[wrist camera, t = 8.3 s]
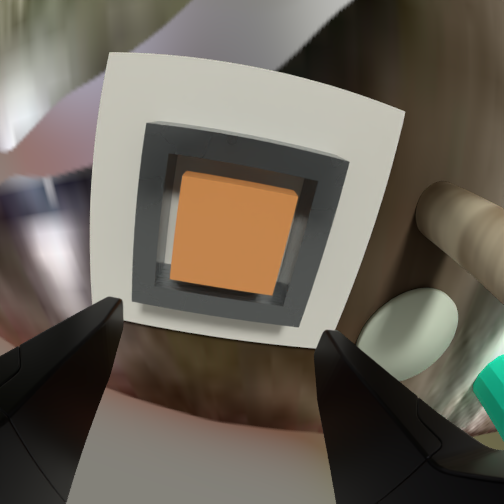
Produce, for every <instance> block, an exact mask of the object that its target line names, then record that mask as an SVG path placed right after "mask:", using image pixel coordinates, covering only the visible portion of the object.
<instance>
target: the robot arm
mask: <svg viewBox="0 0 504 504" xmlns="http://www.w3.org/2000/svg"><path fill="white" fill-rule="evenodd" d="M122 330H123V301H122V299H120V298H116V297H111V296H108V297H106V298H104V299H102V300H100V301H98V302H97V303H95V304H93V305H91V306H89V307H87V308H86V309H84V310H82V311H80V312H78V313H76V314H75V315H73V316H71V317H69V318H67V319H66V320H64V321H62V322H60V323H58V324H57V325H55V326H53V327H51V328H49V329H48V330H46V331H44V332H42V333H40V334H39V335H37V336H35V337H33V338H32V339H30V340H28V341H26V342H25V343H23V344H21V345H20V347H18V346H17V347H16V348H14V349H12V350H10V351H9V352H7V353H5V354H3V355H1V356H0V504H66V502H67V499H68V495H69V492H70V488H71V485H72V482H73V478H74V475H75V472H76V469H77V466H78V463H79V460H80V457H81V453H82V451H83V448H84V445H85V442H86V439H87V436H88V433H89V430H90V428H91V425H92V422H93V419H94V417H95V414H96V411H97V408H98V406H99V403H100V400H101V398H102V395H103V393H104V390H105V388H106V385H107V383H108V380H109V377H110V374H111V371H112V367H113V363H114V359H115V356H116V352H117V348H118V345H119V341H120V338H121V334H122ZM314 364H315V376H316V389H317V401H318V407H319V412H320V417H321V422H322V428H323V433H324V438H325V443H326V448H327V453H328V459H329V464H330V470H331V476H332V482H333V487H334V493H335V499H336V504H504V450H496V449H492V448H489V447H487V446H485V445H483V444H482V443H480V442H479V441H477V440H476V439H474V438H473V437H471V436H470V435H468V434H467V433H465V432H464V431H463V430H461V429H460V428H458V427H457V426H455V425H454V424H452V423H451V422H450V421H448V420H447V419H445V418H444V417H443V416H441V415H440V414H439V413H437V412H436V411H435V410H434V409H432V408H431V407H430V406H428V405H427V404H426V403H425V402H424V401H422V400H421V399H420V398H418V397H417V396H416V395H415V394H414V393H413V392H411V391H410V390H409V389H408V388H407V387H405V386H404V385H403V384H402V383H401V382H399V381H398V380H397V379H396V378H395V377H393V376H392V375H391V374H390V373H389V372H387V371H386V370H385V369H384V368H382V367H381V366H380V365H379V364H378V363H376V362H375V361H374V360H373V359H372V358H370V357H369V356H368V355H367V354H366V353H364V352H363V351H362V350H361V349H360V348H358V347H357V346H356V345H355V344H354V343H352V342H351V341H350V340H349V339H348V338H346V337H345V336H344V335H343V334H342V333H340V332H339V331H337V330H325V331H324V332H323V333H322V335H321V338H320V340H319V343H318V345H317V347H316V350H315V353H314Z"/></svg>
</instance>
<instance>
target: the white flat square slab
mask: <svg viewBox="0 0 504 504" xmlns="http://www.w3.org/2000/svg"><path fill="white" fill-rule="evenodd" d="M404 115H405V112H404V111H402V110H399V109H397V108H394V107H392V106H389V105H386V104H384V103H381V102H378V101H376V100H373V99H370V98H367V97H364V96H361V95H358V94H355V93H352V92H349V91H346V90H343V89H340V88H337V87H333V86H330V85H326V84H323V83H319V82H316V81H312V80H308V79H305V78H301V77H297V76H293V75H289V74H285V73H280V72H276V71H271V70H267V69H261V68H256V67H252V66H246V65H241V64H235V63H228V62H222V61H216V60H209V59H201V58H192V57H184V56H174V55H162V54H147V53H122V52H110V53H109V57H108V62H107V67H106V72H105V77H104V83H103V88H102V94H101V101H100V107H99V113H98V121H97V129H96V137H95V146H94V157H93V169H92V184H91V205H90V270H91V291H92V305H93V304H95V303H97V302H98V301H100V300H102V299H104V298H106V297H108V296H111V297H116V298H120V299H122V301H123V320H125V321H130V322H135V323H140V324H145V325H150V326H155V327H160V328H166V329H171V330H177V331H183V332H189V333H195V334H201V335H208V336H214V337H221V338H228V339H235V340H243V341H250V342H258V343H267V344H276V345H285V346H295V347H305V348H316V347H317V345H318V343H319V340H320V338H321V335H322V333H323V332H324V331H325V330H335V328H336V326H337V324H338V321H339V319H340V316H341V314H342V311H343V309H344V306H345V304H346V301H347V299H348V296H349V294H350V291H351V288H352V286H353V283H354V281H355V278H356V275H357V273H358V270H359V267H360V264H361V262H362V259H363V256H364V253H365V250H366V247H367V244H368V242H369V239H370V236H371V233H372V230H373V227H374V224H375V220H376V217H377V214H378V211H379V208H380V205H381V201H382V198H383V195H384V191H385V188H386V185H387V181H388V178H389V174H390V171H391V167H392V163H393V160H394V156H395V152H396V148H397V144H398V140H399V136H400V132H401V128H402V124H403V120H404ZM186 171H192V172H198V173H205V174H211V175H216V176H222V177H228V178H234V179H239V180H245V181H250V182H255V183H260V184H266V185H271V186H276V187H281V188H285V189H290V190H294V191H295V193H296V194H297V196H298V200H297V204H296V208H295V212H294V216H293V220H292V224H291V228H290V231H289V235H288V239H287V243H286V247H285V251H284V254H283V258H282V262H281V265H280V269H279V273H278V277H277V280H276V284H275V288H274V291H273V295H265V294H258V293H251V292H245V291H238V290H232V289H226V288H219V287H213V286H207V285H201V284H195V283H189V282H183V281H177V280H172V279H170V271H171V261H172V252H173V243H174V234H175V226H176V218H177V210H178V203H179V195H180V188H181V181H182V175H183V174H184V173H185V172H186Z"/></svg>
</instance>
